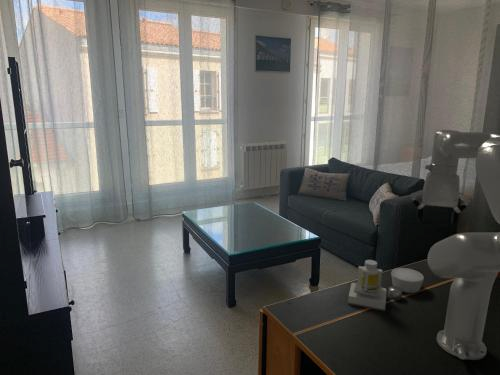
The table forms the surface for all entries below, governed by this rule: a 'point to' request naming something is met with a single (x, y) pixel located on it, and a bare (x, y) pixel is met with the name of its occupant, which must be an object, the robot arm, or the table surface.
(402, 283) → the ramekin
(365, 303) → the scale housing
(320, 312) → the table surface
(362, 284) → the supplement bottle
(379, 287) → the pan
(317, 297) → the table surface
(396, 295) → the shiny gray ball
